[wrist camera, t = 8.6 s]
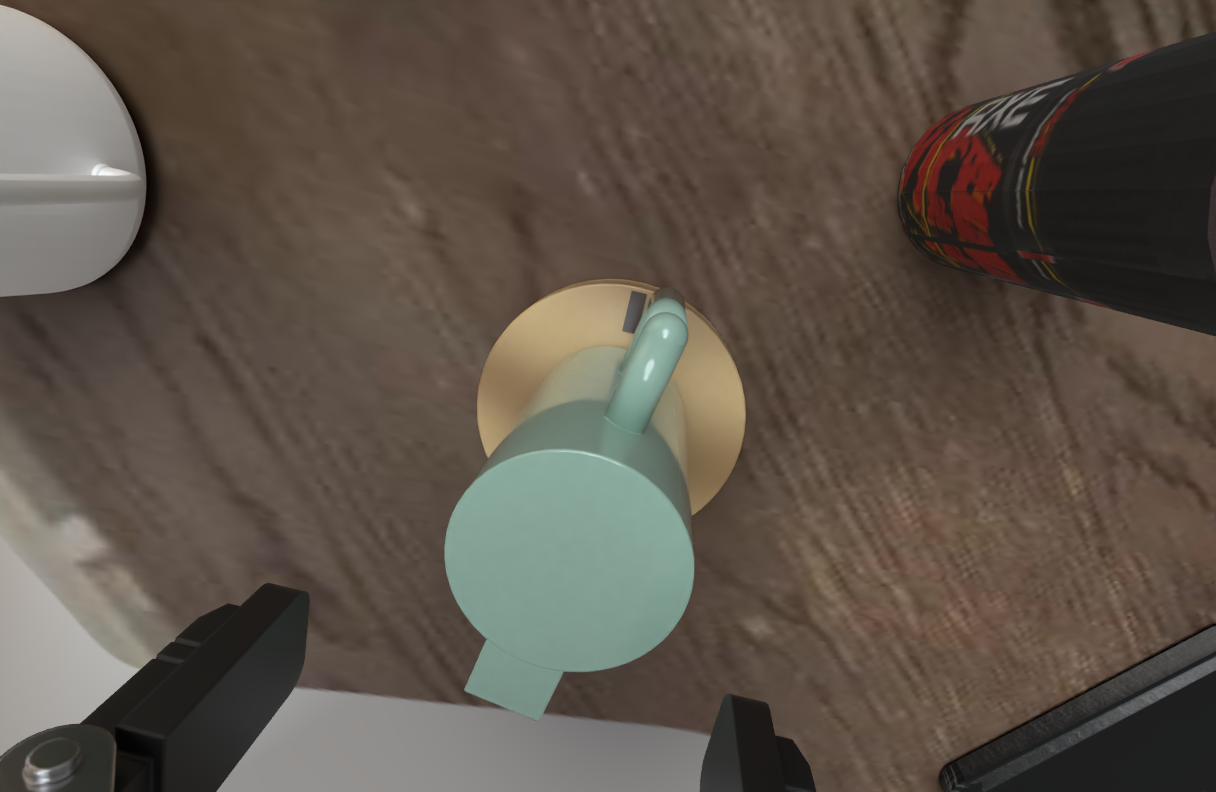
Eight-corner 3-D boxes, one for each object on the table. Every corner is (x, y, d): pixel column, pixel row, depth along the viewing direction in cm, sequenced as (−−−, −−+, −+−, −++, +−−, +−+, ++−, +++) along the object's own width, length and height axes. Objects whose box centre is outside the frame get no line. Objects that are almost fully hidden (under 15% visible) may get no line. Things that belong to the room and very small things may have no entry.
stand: (510, 250, 27) (500, 253, 25) (775, 314, 26) (782, 321, 25) (467, 490, 30) (456, 506, 28) (703, 549, 30) (704, 568, 28)
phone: (938, 794, 31) (1260, 630, 27) (929, 774, 32) (1238, 613, 28) (1031, 897, 32) (1351, 754, 28) (1019, 875, 33) (1326, 734, 29)
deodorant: (962, 70, 23) (1426, -129, 9) (1103, 151, 24) (1765, 84, 9) (865, 223, 25) (1123, 260, 11) (998, 297, 25) (1419, 428, 11)
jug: (630, 546, 28) (606, 754, 18) (497, 488, 28) (392, 665, 17) (749, 309, 25) (806, 394, 14) (598, 242, 25) (543, 278, 14)
